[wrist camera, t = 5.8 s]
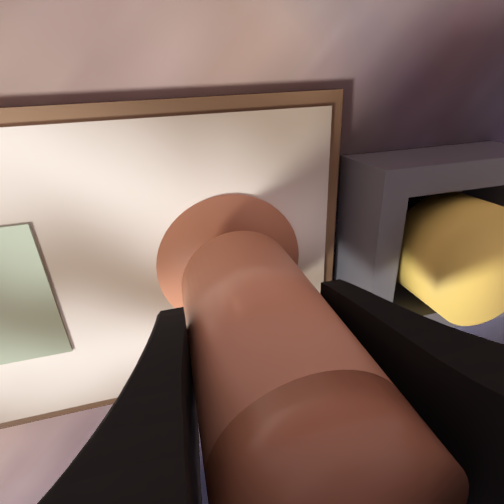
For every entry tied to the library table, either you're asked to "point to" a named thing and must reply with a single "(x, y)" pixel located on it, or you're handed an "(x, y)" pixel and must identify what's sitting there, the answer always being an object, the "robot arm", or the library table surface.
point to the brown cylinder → (297, 392)
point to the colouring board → (142, 224)
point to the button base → (403, 208)
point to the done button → (455, 257)
